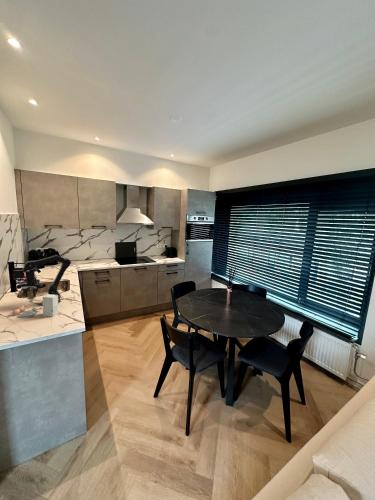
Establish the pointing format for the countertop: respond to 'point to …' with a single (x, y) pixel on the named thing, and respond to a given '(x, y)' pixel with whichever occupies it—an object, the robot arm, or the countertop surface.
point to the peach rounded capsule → (21, 309)
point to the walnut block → (30, 294)
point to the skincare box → (50, 305)
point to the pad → (27, 314)
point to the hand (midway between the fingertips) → (32, 296)
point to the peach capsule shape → (16, 312)
